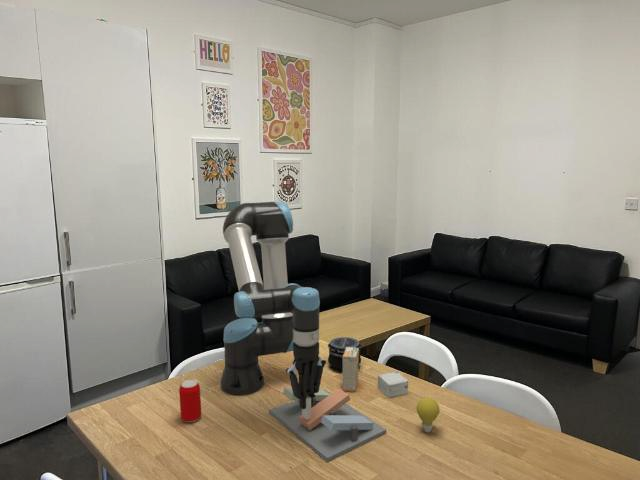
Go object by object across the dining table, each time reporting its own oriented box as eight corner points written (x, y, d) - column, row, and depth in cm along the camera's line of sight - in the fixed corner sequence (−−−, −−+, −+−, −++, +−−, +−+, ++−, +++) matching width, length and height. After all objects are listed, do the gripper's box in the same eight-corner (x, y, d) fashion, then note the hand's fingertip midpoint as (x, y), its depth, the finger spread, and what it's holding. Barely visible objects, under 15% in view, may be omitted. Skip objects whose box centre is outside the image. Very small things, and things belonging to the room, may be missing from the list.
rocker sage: (281, 394, 151) (283, 387, 151) (319, 396, 161) (321, 389, 161) (291, 402, 146) (293, 394, 146) (330, 403, 156) (332, 395, 156)
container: (324, 361, 189) (324, 337, 187) (355, 358, 192) (355, 334, 190) (332, 376, 177) (332, 350, 175) (365, 372, 180) (366, 347, 178)
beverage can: (205, 416, 150) (203, 380, 148) (192, 426, 145) (190, 389, 142) (190, 411, 153) (188, 376, 151) (176, 421, 147) (174, 385, 145)
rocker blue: (319, 423, 135) (322, 414, 135) (359, 423, 145) (361, 415, 145) (331, 432, 131) (334, 423, 131) (372, 431, 140) (374, 423, 140)
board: (269, 413, 152) (269, 398, 151) (324, 392, 165) (324, 378, 164) (327, 462, 128) (327, 444, 127) (386, 433, 141) (386, 417, 140)
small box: (388, 398, 161) (388, 384, 160) (376, 388, 168) (377, 374, 167) (408, 394, 164) (408, 380, 163) (396, 384, 171) (396, 370, 170)
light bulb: (439, 425, 145) (441, 395, 143) (437, 438, 139) (438, 406, 137) (417, 421, 147) (418, 391, 145) (414, 433, 141) (415, 402, 139)
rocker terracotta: (300, 423, 144) (298, 416, 143) (339, 394, 152) (338, 387, 151) (311, 432, 139) (309, 425, 139) (351, 401, 148) (349, 395, 147)
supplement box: (355, 392, 164) (356, 357, 162) (342, 391, 165) (342, 356, 163) (358, 381, 172) (359, 347, 170) (345, 380, 173) (345, 346, 171)
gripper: (294, 351, 130) (295, 430, 135) (332, 340, 138) (331, 415, 142) (279, 343, 136) (281, 418, 140) (316, 332, 144) (316, 404, 148)
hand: (306, 416), depth 141 cm, fingers closed
